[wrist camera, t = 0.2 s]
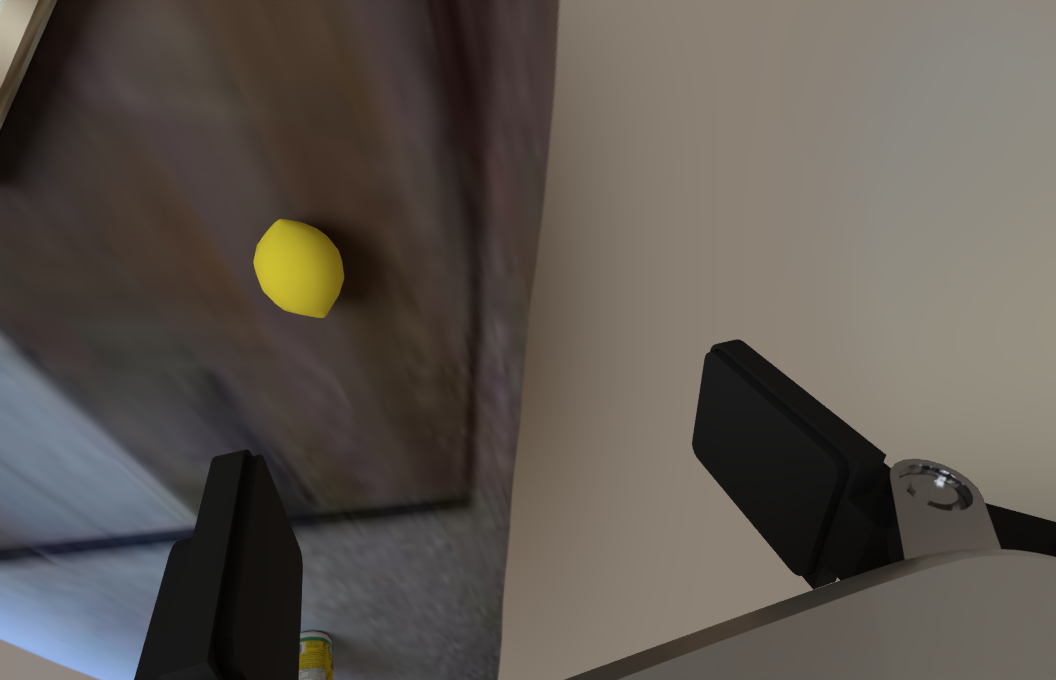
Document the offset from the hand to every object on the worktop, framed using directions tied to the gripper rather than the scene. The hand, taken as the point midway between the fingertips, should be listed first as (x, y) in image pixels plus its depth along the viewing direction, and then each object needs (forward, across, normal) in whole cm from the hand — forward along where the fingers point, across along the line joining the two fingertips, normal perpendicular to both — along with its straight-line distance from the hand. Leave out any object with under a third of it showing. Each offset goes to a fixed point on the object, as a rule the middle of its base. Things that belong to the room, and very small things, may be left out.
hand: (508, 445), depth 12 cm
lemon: (+31, +7, +7) cm, 33 cm away
